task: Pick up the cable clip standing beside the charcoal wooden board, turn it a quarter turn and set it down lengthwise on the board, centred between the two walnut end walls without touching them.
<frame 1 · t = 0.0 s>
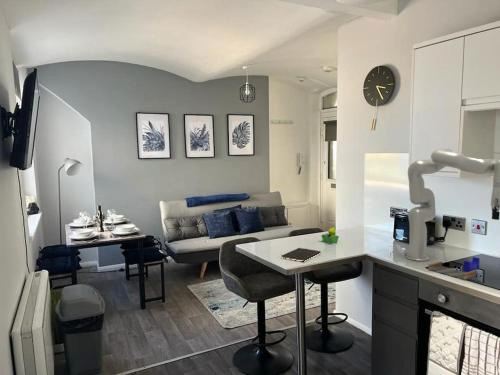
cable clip: (469, 270, 208), on the worktop
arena: (451, 273, 203), on the worktop
dark spiral notebook: (301, 257, 240), on the worktop
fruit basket: (330, 242, 274), on the worktop
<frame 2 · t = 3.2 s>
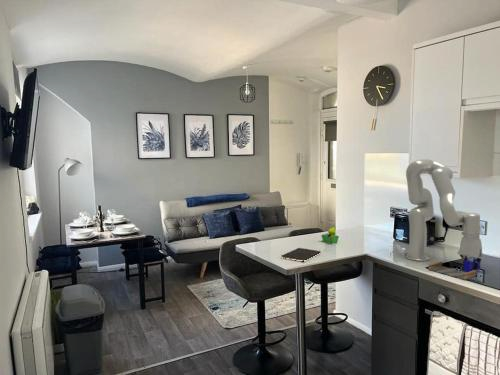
hand: (470, 267, 208), 1 cm above the worktop, tool pointing down, fingers closed on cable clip, 4 cm apart
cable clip: (470, 269, 208), on the worktop, touching gripper
everything else where it was.
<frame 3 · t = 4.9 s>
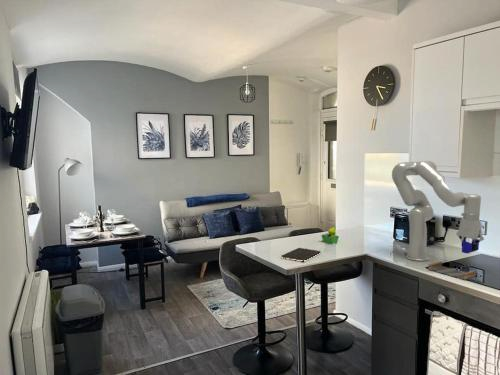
hand: (468, 249, 208), 11 cm above the worktop, tool pointing down, fingers closed on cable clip, 4 cm apart
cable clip: (468, 251, 208), point 10 cm above the worktop, touching gripper
everything else where it was.
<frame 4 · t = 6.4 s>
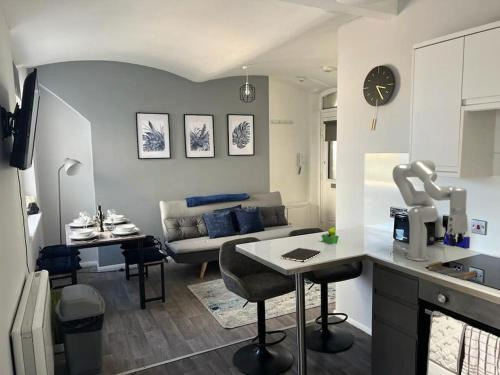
hand: (456, 244, 203), 15 cm above the worktop, tool pointing down, fingers closed on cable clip, 4 cm apart
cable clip: (456, 246, 203), point 14 cm above the worktop, touching gripper
everything else where it was.
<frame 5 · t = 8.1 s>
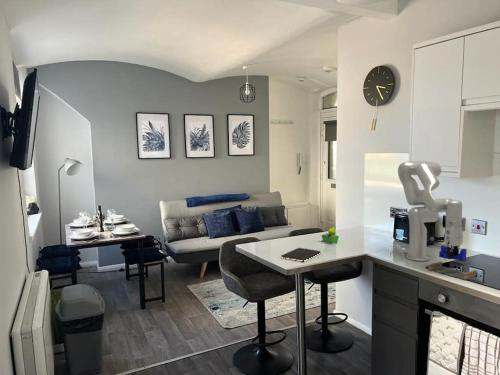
hand: (452, 257, 202), 9 cm above the worktop, tool pointing down, fingers closed on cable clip, 4 cm apart
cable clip: (452, 259, 202), point 8 cm above the worktop, touching gripper
everything else where it was.
when the fingers open (3 cm above the worktop, at t = 9.5 s): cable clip drops 1 cm, resting on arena.
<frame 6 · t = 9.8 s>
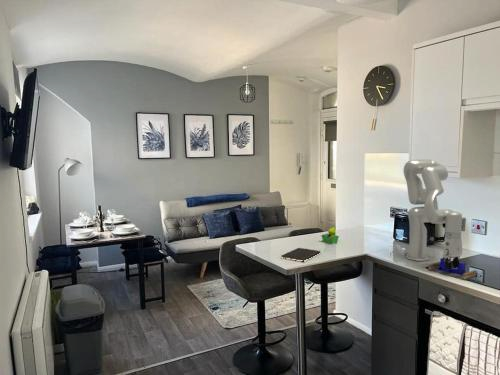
hand: (451, 267, 203), 3 cm above the worktop, tool pointing down, fingers open, 6 cm apart
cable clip: (451, 272, 203), resting on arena
everything else where it was.
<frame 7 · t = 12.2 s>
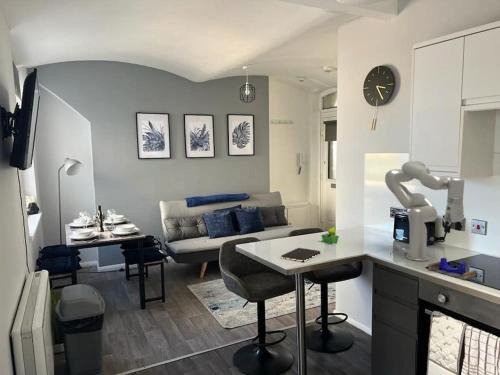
hand: (452, 231, 207), 21 cm above the worktop, tool pointing down, fingers open, 9 cm apart
nothing on the worktop moved.
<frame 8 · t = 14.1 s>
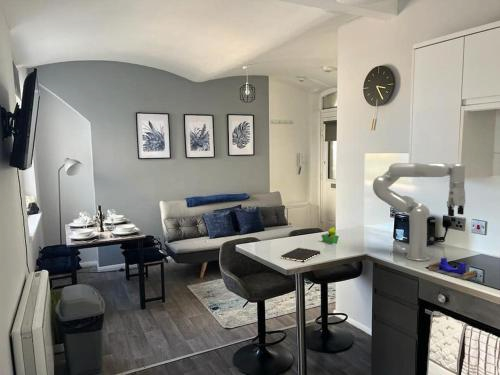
hand: (455, 215, 217), 28 cm above the worktop, tool pointing down, fingers open, 9 cm apart
nothing on the worktop moved.
at the end: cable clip 0.4 cm off-centre on the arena, point 0.4 cm above the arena's base; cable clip tilted 0°; the gripper is holding nothing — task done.
